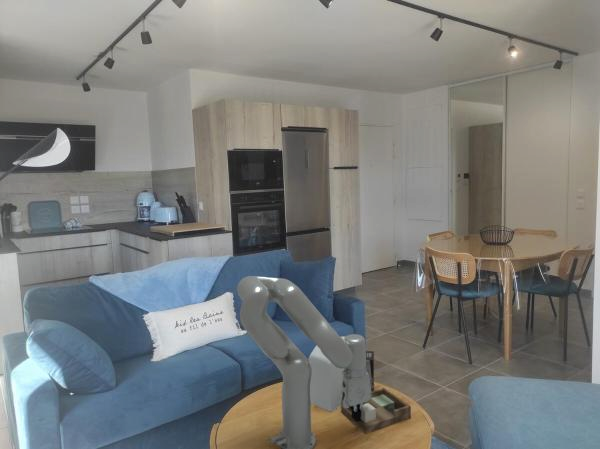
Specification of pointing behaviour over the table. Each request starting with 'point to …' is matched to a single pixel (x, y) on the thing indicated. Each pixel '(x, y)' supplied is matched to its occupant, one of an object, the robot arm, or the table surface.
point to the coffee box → (370, 367)
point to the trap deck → (382, 411)
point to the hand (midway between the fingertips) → (356, 419)
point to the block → (368, 413)
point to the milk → (325, 382)
